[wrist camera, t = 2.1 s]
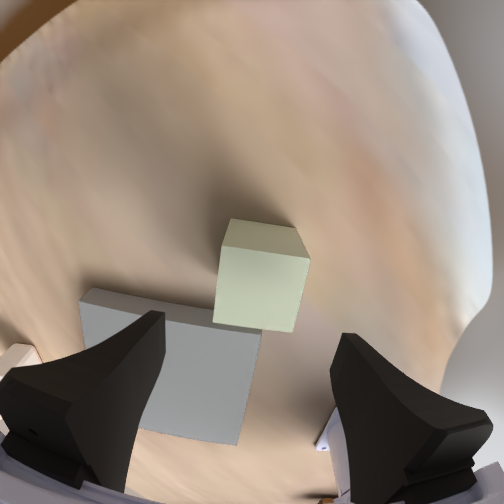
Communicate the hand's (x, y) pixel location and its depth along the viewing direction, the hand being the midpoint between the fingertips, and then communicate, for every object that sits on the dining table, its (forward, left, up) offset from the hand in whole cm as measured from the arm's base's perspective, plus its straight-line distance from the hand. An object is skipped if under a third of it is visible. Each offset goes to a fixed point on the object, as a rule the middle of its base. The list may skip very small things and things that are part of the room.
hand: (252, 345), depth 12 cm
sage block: (0, 0, -10) cm, 11 cm away
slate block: (+6, +12, -11) cm, 17 cm away
